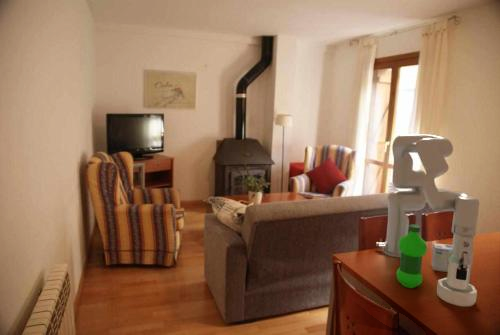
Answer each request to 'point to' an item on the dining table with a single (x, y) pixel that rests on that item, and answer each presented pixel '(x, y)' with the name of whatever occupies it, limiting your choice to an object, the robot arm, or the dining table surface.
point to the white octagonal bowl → (456, 294)
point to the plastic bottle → (411, 258)
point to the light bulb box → (441, 256)
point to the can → (452, 275)
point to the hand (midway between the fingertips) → (458, 274)
